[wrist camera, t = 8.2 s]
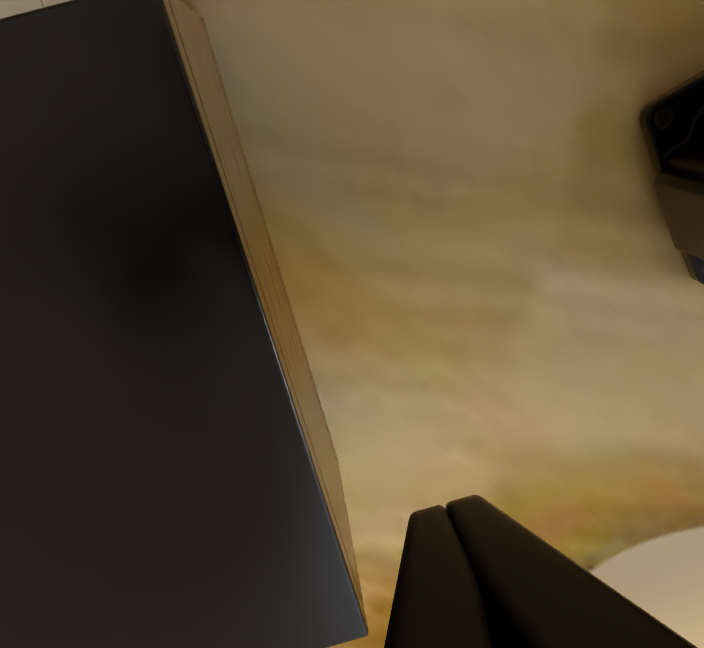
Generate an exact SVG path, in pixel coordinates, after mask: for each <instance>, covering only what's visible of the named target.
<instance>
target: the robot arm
mask: <svg viewBox="0 0 704 648" xmlns="http://www.w3.org/2000/svg"><path fill="white" fill-rule="evenodd" d="M659 110H662V111H663V119H662V121H661V122H660V123H659V124H658V125H657V124H656V123H655V116H656V113H657V112H658V111H659ZM640 126H641V129H642V132H643V135H644V138H645V141H646V144H647V147H648V150H649V153H650V156H651V159H652V162H653V165H654V168H655V171H656V174H655V178H654V182H653V184H654V187H655V190H656V193H657V196H658V199H659V202H660V205H661V208H662V211H663V214H664V217H665V220H666V223H667V226H668V229H669V232H670V235H671V238H672V240H673V243H674V246H675V247H676V248H677V249H679V250H682V252H683V255H684V258H685V261H686V264H687V267H688V270H689V272H690V275H691V277H692V278H693V279H694V280H696V281H698V282H700V283H702V284H704V71H703V72H701V73H699V74H698V75H696V76H694V77H692V78H691V79H689V80H687V81H685V82H684V83H682V84H680V85H678V86H677V87H675V88H673V89H671V90H670V91H668V92H666V93H664V94H663V95H661V96H659V97H657V98H655V99H654V100H652V101H650V102H649V103H648V104H647V105H645V107H644V108H643V110H642V111H641V114H640ZM384 648H697V647H696V646H694V645H693V644H692V643H690V642H688V641H687V640H686V639H684V638H683V637H681V636H680V635H678V634H677V633H676V632H674V631H673V630H671V629H670V628H669V627H667V626H666V625H664V624H663V623H661V622H660V621H659V620H657V619H656V618H654V617H653V616H651V615H650V614H648V613H647V612H646V611H644V610H643V609H641V608H640V607H638V606H637V605H636V604H634V603H632V602H631V601H630V600H628V599H627V598H626V597H624V596H622V595H621V594H620V593H618V592H617V591H616V590H614V589H613V588H611V587H610V586H608V585H607V584H605V583H604V582H602V581H601V580H600V579H598V578H597V577H595V576H594V575H592V574H591V573H590V572H588V571H587V570H585V569H584V568H583V567H581V566H580V565H578V564H577V563H575V562H574V561H573V560H571V559H570V558H568V557H567V556H565V555H564V554H562V553H561V552H560V551H558V550H557V549H555V548H554V547H552V546H551V545H550V544H548V543H547V542H545V541H544V540H542V539H541V538H540V537H538V536H537V535H535V534H534V533H532V532H531V531H529V530H528V529H527V528H525V527H524V526H522V525H521V524H519V523H518V522H517V521H515V520H514V519H512V518H511V517H509V516H508V515H507V514H505V513H504V512H502V511H501V510H499V509H498V508H497V507H495V506H494V505H492V504H491V503H489V502H488V501H486V500H485V499H484V498H482V497H481V496H478V495H471V496H468V497H464V498H461V499H457V500H454V501H450V502H448V503H447V504H446V508H444V507H443V506H441V505H436V506H433V507H429V508H426V509H422V510H419V511H415V512H413V513H412V514H411V516H410V518H409V522H408V527H407V532H406V538H405V543H404V548H403V553H402V558H401V563H400V568H399V574H398V579H397V584H396V589H395V594H394V599H393V604H392V609H391V615H390V620H389V625H388V630H387V635H386V640H385V645H384Z"/></svg>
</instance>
